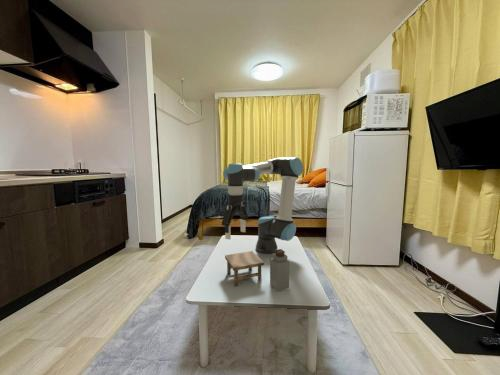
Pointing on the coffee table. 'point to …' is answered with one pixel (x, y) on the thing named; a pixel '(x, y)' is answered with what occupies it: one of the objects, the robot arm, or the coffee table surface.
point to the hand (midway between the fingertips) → (235, 235)
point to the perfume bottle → (279, 270)
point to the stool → (243, 264)
